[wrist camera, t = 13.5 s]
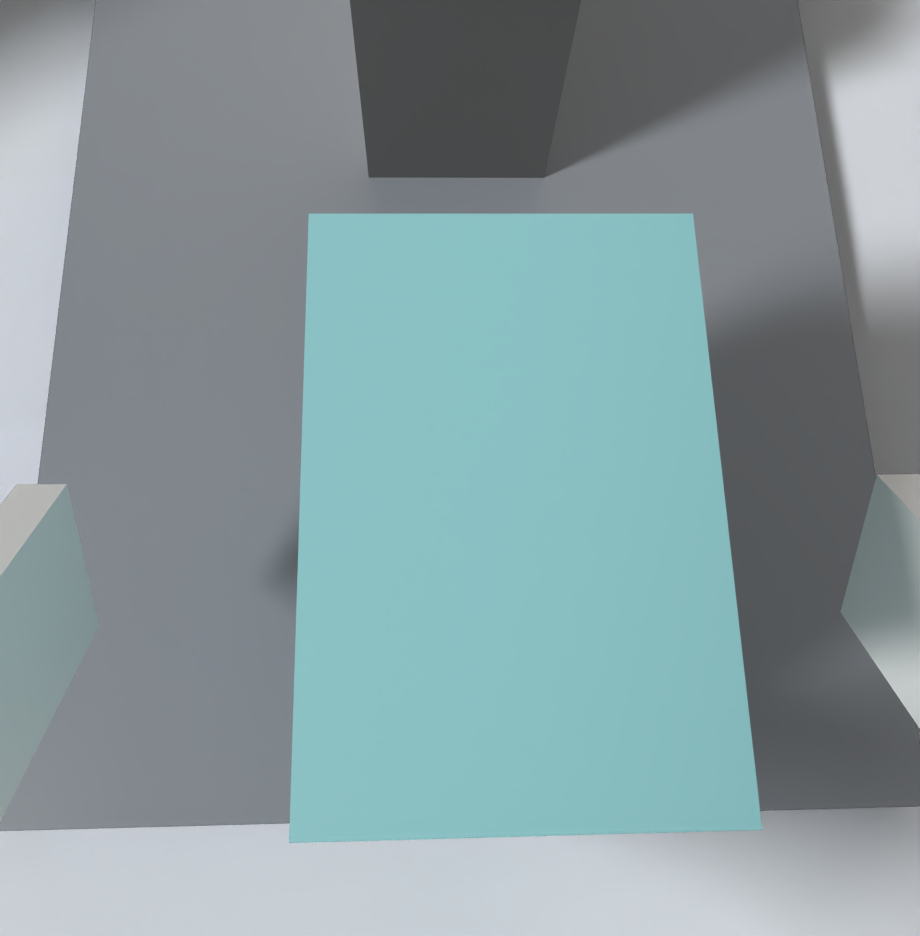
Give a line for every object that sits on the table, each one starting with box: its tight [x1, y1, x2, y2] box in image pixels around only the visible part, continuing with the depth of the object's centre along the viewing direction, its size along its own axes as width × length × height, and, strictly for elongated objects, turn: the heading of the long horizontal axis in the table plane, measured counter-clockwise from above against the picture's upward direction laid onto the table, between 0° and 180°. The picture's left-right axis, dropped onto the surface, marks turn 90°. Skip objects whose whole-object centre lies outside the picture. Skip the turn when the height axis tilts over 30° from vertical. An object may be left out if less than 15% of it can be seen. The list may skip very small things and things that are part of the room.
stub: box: [289, 214, 762, 843], centre depth 13 cm, size 6×4×10 cm, turn 1°
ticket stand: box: [0, 0, 920, 831], centre depth 17 cm, size 28×18×11 cm, turn 1°
